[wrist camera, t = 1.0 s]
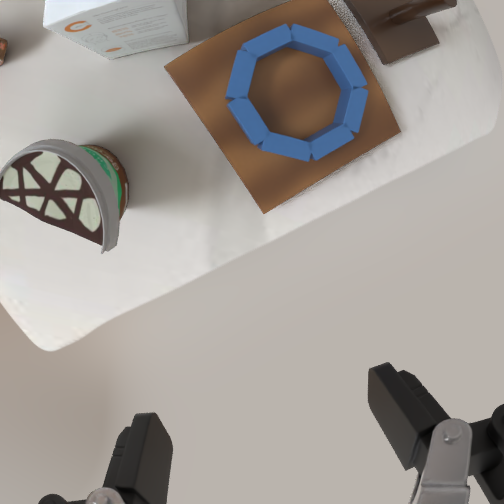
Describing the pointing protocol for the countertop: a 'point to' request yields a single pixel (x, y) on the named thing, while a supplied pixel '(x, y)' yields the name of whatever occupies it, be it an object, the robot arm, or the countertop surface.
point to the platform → (280, 100)
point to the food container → (69, 188)
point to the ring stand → (398, 24)
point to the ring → (340, 68)
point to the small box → (119, 24)
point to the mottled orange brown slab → (2, 50)
